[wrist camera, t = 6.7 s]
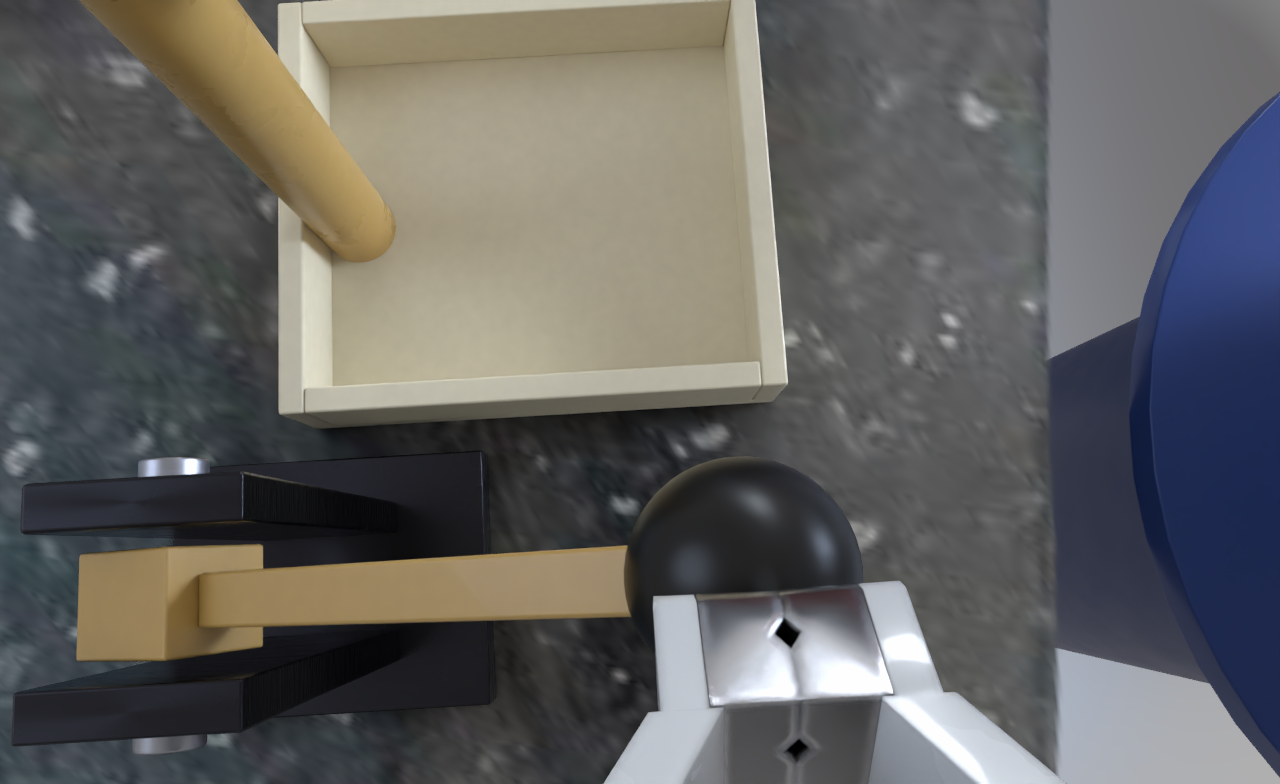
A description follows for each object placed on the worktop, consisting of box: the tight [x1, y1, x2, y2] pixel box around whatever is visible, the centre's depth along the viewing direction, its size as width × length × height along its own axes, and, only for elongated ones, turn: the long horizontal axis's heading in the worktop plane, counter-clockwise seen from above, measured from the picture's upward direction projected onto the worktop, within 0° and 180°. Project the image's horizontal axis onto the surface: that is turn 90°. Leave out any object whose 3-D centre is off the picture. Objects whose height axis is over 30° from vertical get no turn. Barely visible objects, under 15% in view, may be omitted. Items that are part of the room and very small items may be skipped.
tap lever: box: [77, 457, 863, 662], centre depth 18 cm, size 16×4×4 cm, turn 93°
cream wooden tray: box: [278, 0, 788, 429], centre depth 33 cm, size 16×14×4 cm
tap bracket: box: [11, 451, 496, 755], centre depth 26 cm, size 10×8×14 cm
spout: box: [79, 0, 396, 262], centre depth 26 cm, size 8×2×18 cm, turn 93°
